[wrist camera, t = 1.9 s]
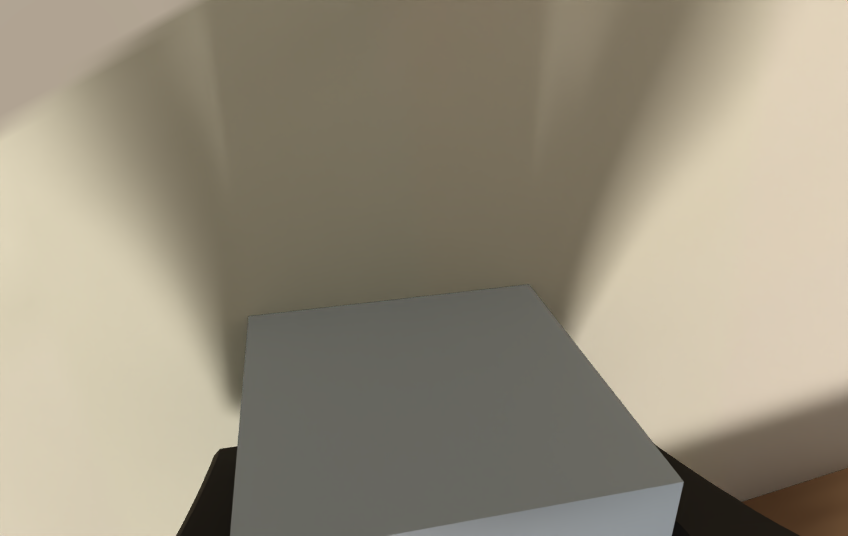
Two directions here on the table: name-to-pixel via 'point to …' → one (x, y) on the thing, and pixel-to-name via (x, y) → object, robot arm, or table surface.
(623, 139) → the table surface
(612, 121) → the table surface
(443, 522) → the cube
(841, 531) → the walnut block
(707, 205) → the table surface
